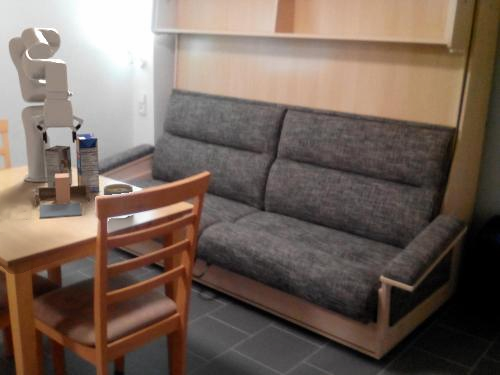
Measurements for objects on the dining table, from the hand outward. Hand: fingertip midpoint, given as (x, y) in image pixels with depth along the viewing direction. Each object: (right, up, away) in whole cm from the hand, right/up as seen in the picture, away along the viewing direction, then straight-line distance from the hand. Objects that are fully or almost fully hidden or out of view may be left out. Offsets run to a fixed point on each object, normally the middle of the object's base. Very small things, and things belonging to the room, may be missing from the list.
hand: (60, 142), depth 199 cm
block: (-1, -22, +6) cm, 23 cm away
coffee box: (-9, -16, +26) cm, 32 cm away
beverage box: (+4, -18, +22) cm, 29 cm away
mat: (+2, -25, -5) cm, 26 cm away
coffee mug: (+24, -27, -7) cm, 37 cm away
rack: (-1, -22, +6) cm, 23 cm away
